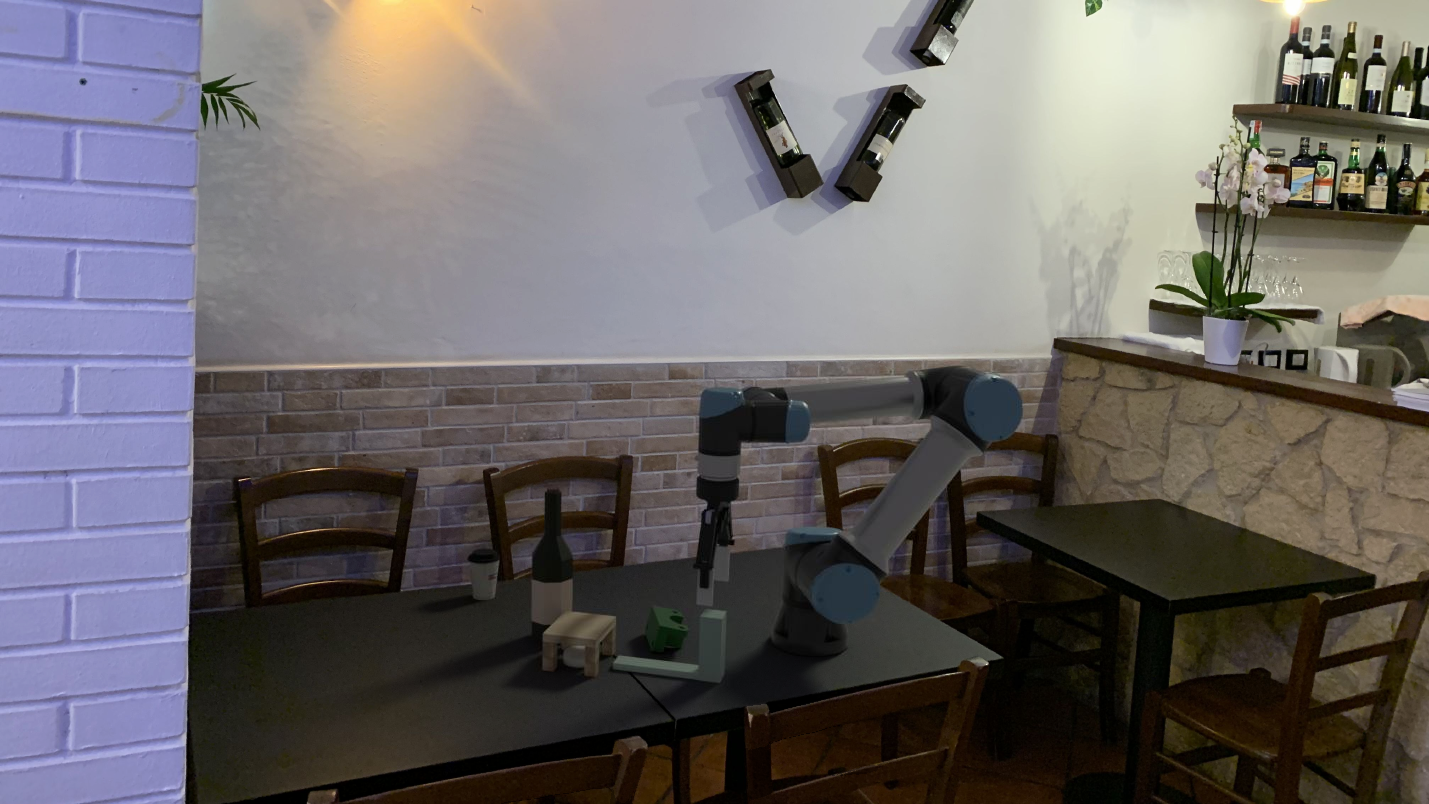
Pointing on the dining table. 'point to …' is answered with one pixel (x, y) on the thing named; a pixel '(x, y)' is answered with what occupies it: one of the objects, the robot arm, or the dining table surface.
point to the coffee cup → (483, 573)
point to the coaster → (575, 656)
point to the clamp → (665, 629)
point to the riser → (580, 638)
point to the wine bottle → (551, 570)
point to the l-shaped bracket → (709, 654)
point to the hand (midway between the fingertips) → (713, 592)
